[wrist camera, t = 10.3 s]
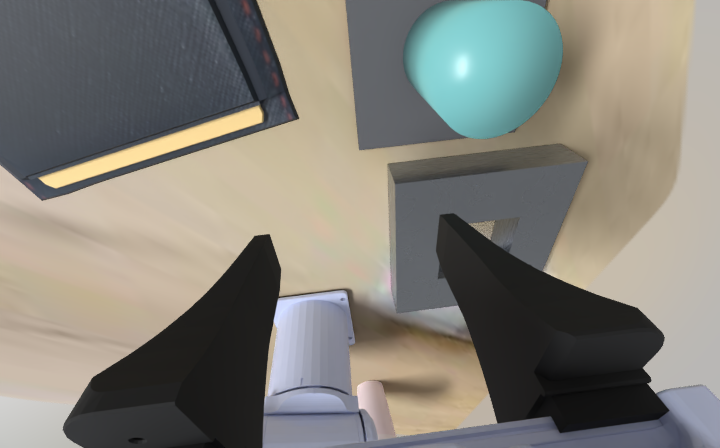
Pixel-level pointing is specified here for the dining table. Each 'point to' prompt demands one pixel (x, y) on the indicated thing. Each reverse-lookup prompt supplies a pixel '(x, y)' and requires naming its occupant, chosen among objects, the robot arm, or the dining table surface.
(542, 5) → the mat
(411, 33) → the end cap
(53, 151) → the grey book
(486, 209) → the housing
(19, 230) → the dining table surface
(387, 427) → the smoothie
